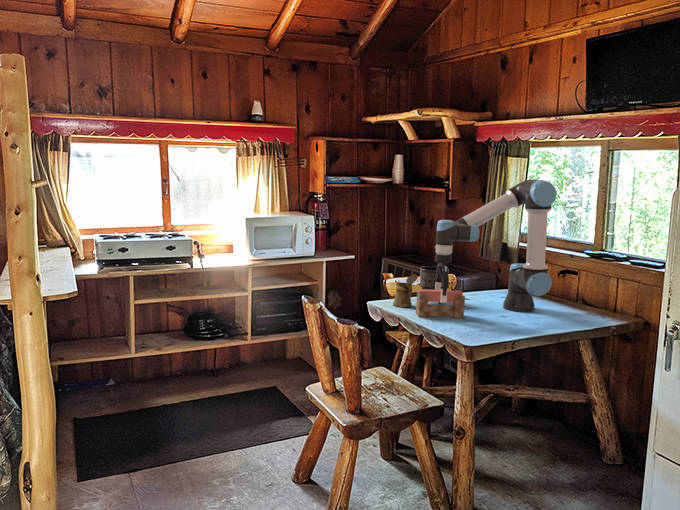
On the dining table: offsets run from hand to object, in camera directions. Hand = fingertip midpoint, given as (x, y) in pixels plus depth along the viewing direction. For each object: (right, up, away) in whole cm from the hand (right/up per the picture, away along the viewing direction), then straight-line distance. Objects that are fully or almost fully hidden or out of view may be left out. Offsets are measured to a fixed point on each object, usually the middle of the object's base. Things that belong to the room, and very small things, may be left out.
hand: (440, 299), depth 276 cm
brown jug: (-15, -5, +17) cm, 23 cm away
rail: (0, -1, 0) cm, 1 cm away
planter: (0, -4, +28) cm, 28 cm away
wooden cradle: (0, -8, +1) cm, 8 cm away
